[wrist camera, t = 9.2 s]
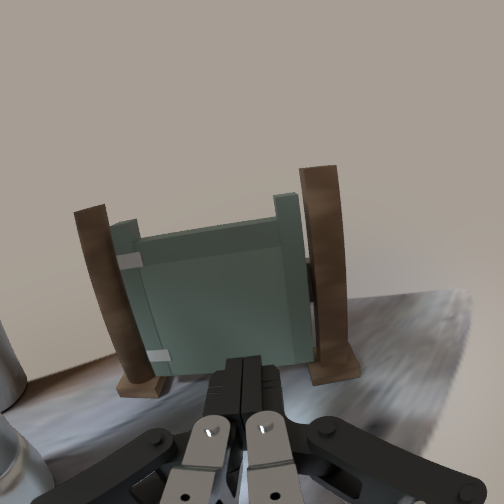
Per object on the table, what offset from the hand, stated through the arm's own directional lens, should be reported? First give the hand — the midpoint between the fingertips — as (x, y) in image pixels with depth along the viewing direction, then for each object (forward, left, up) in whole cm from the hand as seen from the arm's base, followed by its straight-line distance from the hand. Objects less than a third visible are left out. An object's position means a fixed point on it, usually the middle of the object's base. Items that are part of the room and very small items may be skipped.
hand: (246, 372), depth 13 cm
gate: (-2, +8, -5) cm, 10 cm away
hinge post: (-10, +8, -7) cm, 15 cm away
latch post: (+5, +8, -7) cm, 12 cm away
